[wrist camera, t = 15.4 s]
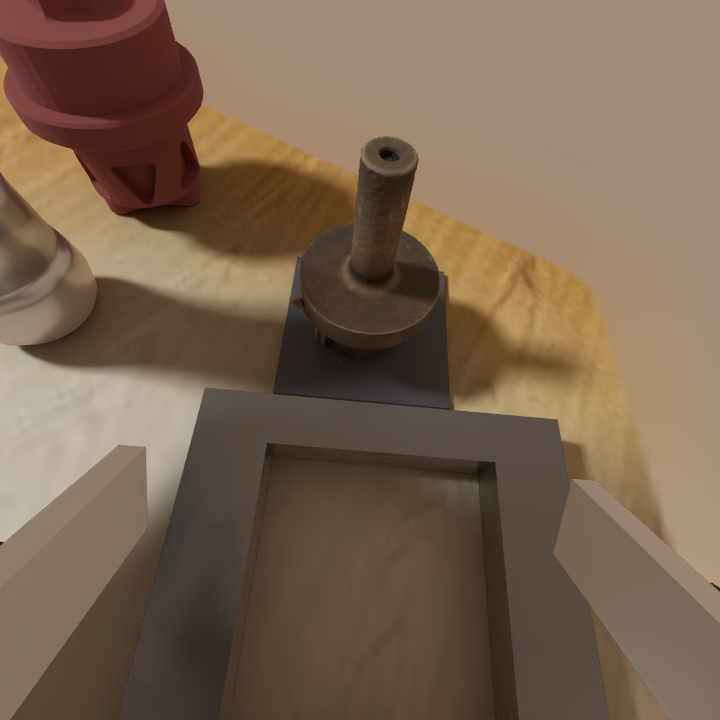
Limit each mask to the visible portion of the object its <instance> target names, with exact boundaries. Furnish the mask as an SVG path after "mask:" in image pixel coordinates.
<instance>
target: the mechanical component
mask: <svg viewBox="0 0 720 720" xmlns="http://www.w3.org/2000/svg"><path fill="white" fill-rule="evenodd" d="M0 54H1V56H2V58H3V59H4V61H5V63H6V64H7V66H8V69H7V72H6V75H5V78H4V91H5V95H6V97H7V98H8V100H9V102H10V103H11V105H12V107H13V108H14V110H15V111H16V113H17V114H18V116H19V117H20V119H21V120H22V122H23V123H24V124H25V126H26V127H27V128H28V129H29V130H30V131H31V132H33V133H34V134H35V135H37V136H39V137H40V138H42V139H44V140H46V141H49V142H51V143H53V144H57V145H60V146H64V147H67V148H71V149H72V150H73V151H74V153H75V155H76V157H77V158H78V160H79V162H80V163H81V165H82V167H83V168H84V170H85V171H86V173H87V174H88V176H89V178H90V180H91V182H92V184H93V186H94V187H95V189H96V191H97V192H98V193H99V194H100V195H101V196H102V197H103V198H104V199H105V200H106V202H107V204H108V205H109V207H110V209H111V210H112V211H113V212H114V213H117V214H127V213H130V212H132V211H135V210H138V209H142V208H149V207H155V206H160V205H180V206H192V205H194V204H196V203H197V202H198V201H199V199H200V195H199V192H198V189H197V186H196V182H197V180H198V178H199V173H200V166H199V162H198V159H197V156H196V152H195V149H194V145H193V142H192V139H191V135H190V132H189V129H188V125H187V123H188V122H189V121H190V120H191V119H192V118H193V117H194V115H195V114H196V113H197V111H198V110H199V108H200V106H201V103H202V100H203V87H202V83H201V79H200V75H199V71H198V67H197V64H196V61H195V59H194V57H193V56H192V54H191V53H190V52H189V51H188V50H187V49H186V48H185V47H183V46H182V45H181V44H179V43H178V42H177V41H175V38H174V34H173V31H172V27H171V23H170V20H169V16H168V12H167V9H166V5H165V2H164V0H0Z"/></svg>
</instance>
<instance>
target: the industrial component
mask: <svg viewBox="0 0 720 720" xmlns="http://www.w3.org/2000/svg"><path fill="white" fill-rule="evenodd" d="M417 165H418V155H417V153H416V151H415V149H414V148H413V147H412V146H411V145H410V144H408V143H407V142H405V141H403V140H402V139H399V138H396V137H389V136H383V137H378V138H375V139H372V140H370V141H368V142H367V143H365V145H364V146H363V148H362V153H361V159H360V168H359V180H358V189H357V198H356V207H355V218H354V222H352V223H346V224H342V225H338V226H336V227H333V228H331V229H328V230H326V231H325V232H323V233H322V234H320V235H319V236H317V237H316V238H315V239H314V240H313V241H312V242H311V243H310V244H309V245H308V247H307V248H306V250H305V251H304V253H303V255H302V258H301V260H300V264H299V274H298V276H299V284H300V289H301V293H302V296H303V297H294V296H292V303H293V305H294V306H297V307H299V308H301V309H302V310H303V312H304V313H306V315H307V317H308V318H309V320H310V321H311V322H312V324H313V325H314V326H315V338H316V340H317V341H321V343H322V344H323V346H324V348H333V349H334V350H335V351H336V352H338V353H339V354H341V355H343V356H345V357H347V358H350V359H354V360H372V359H375V358H379V357H381V356H383V355H385V354H386V353H388V352H389V351H390V350H391V349H392V347H393V346H396V345H398V344H401V343H403V342H405V341H407V340H409V339H410V338H412V337H413V336H414V335H416V334H417V333H418V332H419V331H420V330H421V329H422V328H423V327H424V325H425V324H426V322H427V320H428V318H429V316H430V314H431V312H432V310H433V307H434V305H435V303H436V301H437V298H438V295H439V290H440V276H439V271H438V267H437V265H436V262H435V260H434V258H433V257H432V255H431V254H430V252H429V251H428V250H427V249H426V247H425V246H424V245H423V244H422V243H420V242H419V241H418V240H417V239H416V238H415V237H413V236H411V235H410V234H408V233H406V232H404V231H402V228H403V225H404V220H405V216H406V211H407V208H408V203H409V199H410V194H411V190H412V186H413V182H414V176H415V171H416V169H417ZM451 353H452V351H451ZM340 362H342V361H340Z"/></svg>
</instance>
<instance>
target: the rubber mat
mask: <svg viewBox="0 0 720 720" xmlns="http://www.w3.org/2000/svg"><path fill="white" fill-rule="evenodd" d="M301 258H302V257H298V258H297V263H296V269H295V274H294V280H293V286H292V291H291V297H290V302H289V308H288V314H287V319H286V325H285V331H284V336H283V342H282V347H281V353H280V359H279V364H278V370H277V376H276V381H275V387H274V392H273V393H274V394H279V395H290V396H301V397H312V398H323V399H334V400H345V401H356V402H368V403H379V404H390V405H401V406H412V407H423V408H434V409H445V410H449V409H450V404H449V381H448V357H447V333H446V309H445V285H444V272H440V271H439V276H440V290H439V295H438V298H437V301H436V303H435V305H434V307H433V310H432V312H431V314H430V316H429V318H428V320H427V322H426V324H425V325H424V327H423V328H422V329H421V330H420V331H419V332H418V333H417V334H416V335H414V336H413V337H412V338H410V339H409V340H407V341H405V342H403V343H401V344H398V345H396V346H393V347H392V349H391V350H390V351H389V352H388V353H386V354H385V355H383V356H381V357H379V358H375V359H372V360H354V359H350V358H347V357H345V356H343V355H341V354H339V353H338V352H336V351H335V350H334V349H333V348H324V346H323V344H322V343H321V341H317V340H316V338H315V326H314V325H313V324H312V322H311V321H310V320H309V318H308V317H307V315H306V313H304V312H303V310H302V309H301V308H299V307H297V306H294V305H293V303H292V296H294V297H303V296H302V293H301V289H300V284H299V276H298V274H299V264H300V260H301ZM340 361H342V362H340Z"/></svg>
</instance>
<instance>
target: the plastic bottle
mask: <svg viewBox="0 0 720 720" xmlns="http://www.w3.org/2000/svg"><path fill="white" fill-rule="evenodd" d="M96 296H97V282H96V280H95V277H94V275H93V273H92V271H91V269H90V266H89V264H88V262H87V260H86V259H85V257H84V256H83V255H82V254H81V252H80V251H79V250H77V249H76V248H75V247H74V246H73V245H72V244H71V243H70V242H69V241H68V240H67V239H66V238H65V237H64V236H63V235H61V234H60V233H59V232H58V231H56V230H55V229H54V228H52V227H51V226H50V225H48V224H47V222H46V221H45V220H44V219H43V218H42V217H41V216H40V215H39V214H38V213H37V212H36V211H35V210H34V209H33V208H32V207H31V206H30V204H29V203H28V202H27V201H26V200H25V199H24V198H23V197H22V196H21V195H20V194H19V193H18V192H17V191H16V190H15V189H14V188H13V186H12V185H11V184H10V183H9V182H8V181H7V180H6V179H5V178H4V177H3V175H2V174H1V173H0V343H3V344H7V345H35V344H43V343H47V342H51V341H54V340H57V339H59V338H62V337H64V336H66V335H67V334H69V333H71V332H72V331H74V330H75V329H77V328H78V327H79V326H80V325H81V324H82V323H83V322H84V321H85V320H86V319H87V318H88V316H89V315H90V313H91V311H92V309H93V307H94V304H95V300H96Z"/></svg>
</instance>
